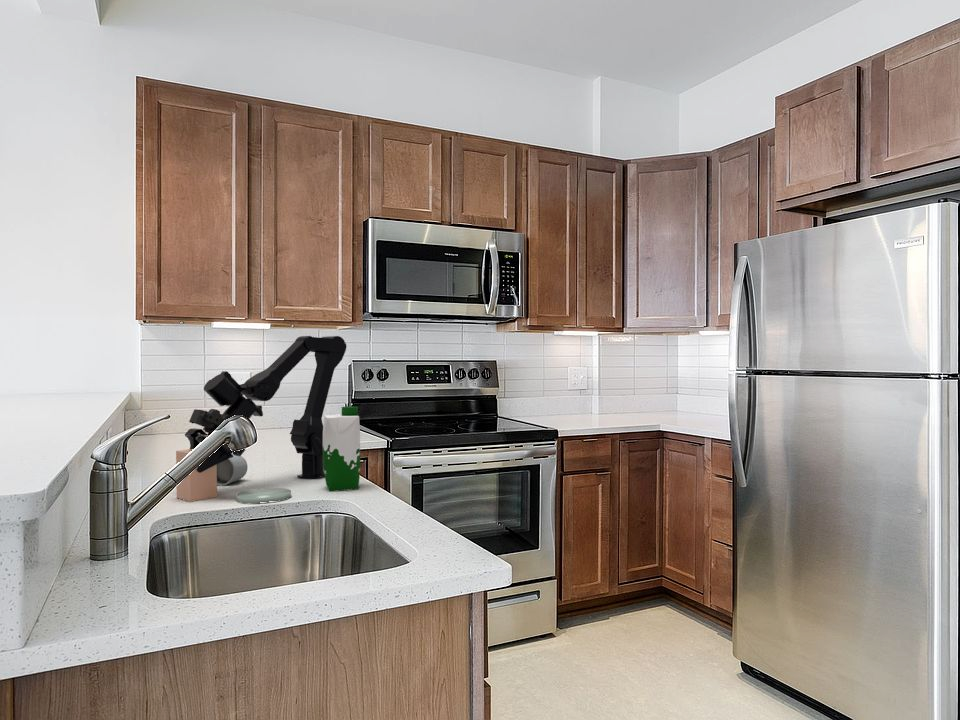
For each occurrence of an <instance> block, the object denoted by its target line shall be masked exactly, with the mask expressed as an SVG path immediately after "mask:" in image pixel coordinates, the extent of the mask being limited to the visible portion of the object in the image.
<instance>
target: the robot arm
mask: <svg viewBox="0 0 960 720" xmlns="http://www.w3.org/2000/svg"><path fill="white" fill-rule="evenodd" d="M347 348H348V346H347V343H346V342H345V339H344V338H343V336H340V335H333V336H332V335H331V336H328V335H327V336H321V337H318V336H317V337H316V336H315V337H314V336H312V335H301V336H299V337H297V338H296V339H295V341H294V342H293V343H292V344H291V345H290V346H289V347H288V348H287V349H286V350H285V351H284V352H283V353H282V354H281V355H280V356H278V358H277V359H276V360H274V361H273V362H272V363H271V364H270V366H268V367H267V368H265V369H263V370H262V371H259V372H258V373H256V374H254V375H253V376H251V377H250V378H248V379H247V380H246V381H245V382H244V383H242V384H239V383H238V382H237V381H236V380H235V378H233V376H232V375H231V374H230V372H228V371H226V370H225V371H224V370H223V371H221V372H220V373H219V374H217V375H215V376H213V378H211V379H208V381H207V382H206V383H205V384H204V386H203V391H204V392H206V394H207V395H208V396H209V397H211V399H213V400H214V402H216V403H217V404H218V406H220V407H224V406H226V407H227V408H226V409H225V410H224V411H223V413H221V411H220V410H218V409H216V408H210V409H209V410H208V411H207V410H204V409H197V408H195V409H193V410H192V411H193V412H192V414H191V416H190V419H189V421H188V422H189V423H191V424H195V425H198V426H201V427H203V428H196V427H194V428H189V429H188V430H187V431H186V433H184V437H186V439H187V440H188V441H189V445H190V446H189V449H194V448H195V447H196V446H197V445H198V444H199V443H200V442H202V441H203V440H204V439H205V438H206V437H208V436H209V435H210V434H211V433H212V432H213V431H214V430H215V429H216V428H217V427H218V426H219V425H220V424H221V423H222V422H223V421H224V420H226V419H228V418H230V417H232V416H234V415H243V416H245V417H247V418H248V419H249V420H250V419H251V417H253V416H254V417H263V415H264V412H263V409H262V408H263V406H262V405H259V404H258V405H257V404H256V403H255V402H257V401H258V402H268V401H270V400H271V399H273V397H274V396H275V395H276V393H277V391H278V390H279V389H280V387H281V382H282V381H283V379H284V378H285V377H286V376H287V375H288V374H289V373H290V372H291V371H292V370H293V369H294V368H295V367H296V366H297V365H298V364H299V363H300V362H301V361H302V360H303V359H304V358H305V357H306V356H307V355H308V354H309V353H314V359H315V362H316V363H315V364H316V368H315V371H314V375H313V378H312V383H311V386H310V390H309V394H308V397H307V401H306V405H305V408H304V412H303V415H302V416H301V417H300V418H299V419H294V420H293V422H292V427H291V430H290V432H289V435H290V442H291V443H292V445H293V446H294V447H295V450H296V454H301V474H297V476H296V477H297V478H299V479H300V478H303V479H320V478H322V477H325V475H324V470H323V425H324V422H323V416H324V415H323V414H324V410H325V407H326V403H327V399H328V395H329V391H330V388H331V383H332V380H333V375H334V372H335V369H336V368H337V367H338V366H339V364H340V363H341V362H342V361H343V359H344V356H345V353H346V351H347ZM254 401H255V402H254ZM245 451H246V448H245V449H243V450H240V451H235V452H234V451H231V450H230V448H229V447H228V445H227V444H224V445H222V446H221V447H220V448H219V449H218V450H217V451H216V452H215V453H213V454H212V455H211V456H210V457H208V458H207V459H206V460H205V461H204V462H203V463H202V464H201V465H200V466H198V468H197V471H198V472H199V473H201V472H203V471H205V470H207V469H209V468H211V467H212V466H214V465H216V464H218V463H220V462H223V461H225V460H227V459H229V458H232V457H233V455H235V456H242V455H243V454H244V452H245ZM232 454H233V455H232Z"/></svg>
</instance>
